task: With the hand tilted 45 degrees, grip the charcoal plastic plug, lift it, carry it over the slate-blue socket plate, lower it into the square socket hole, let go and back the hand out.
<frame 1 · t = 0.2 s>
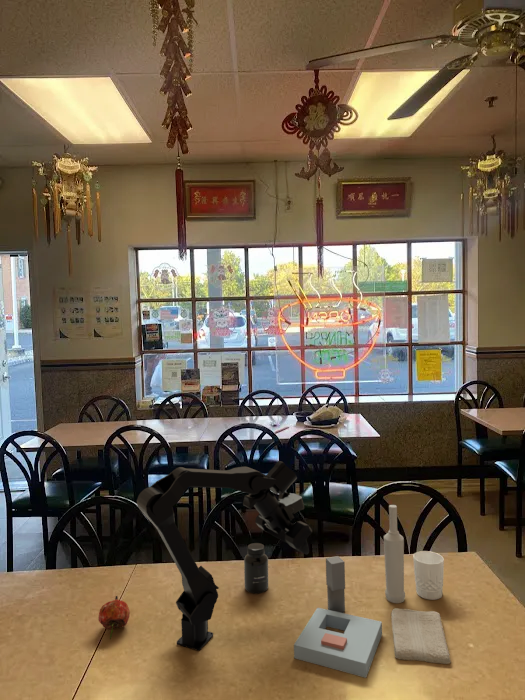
hand: (297, 546, 131), 14 cm above the table, tool tilted 35°, fingers open, 9 cm apart
plug: (336, 609, 126), on the table
bottle: (395, 599, 130), on the table
supplement bottle: (256, 588, 138), on the table
white cup: (429, 594, 132), on the table
pomegranate: (115, 630, 120), on the table
socket plate: (339, 645, 111), on the table
washcloth: (418, 640, 113), on the table
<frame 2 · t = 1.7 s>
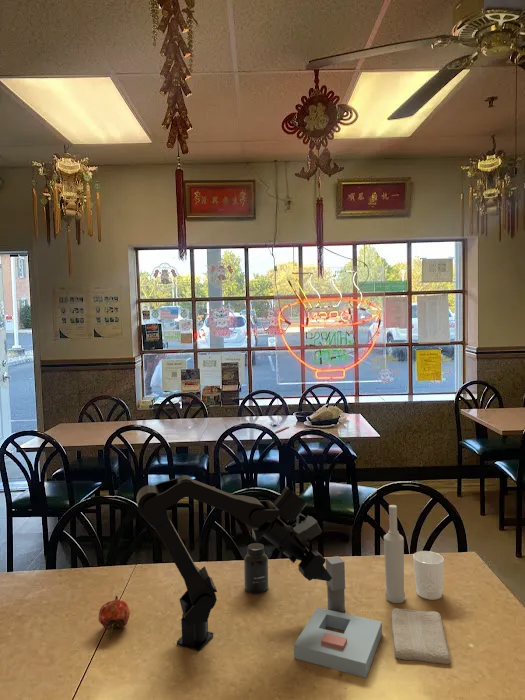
hand: (322, 571, 124), 11 cm above the table, tool tilted 45°, fingers open, 9 cm apart
nothing on the table moved.
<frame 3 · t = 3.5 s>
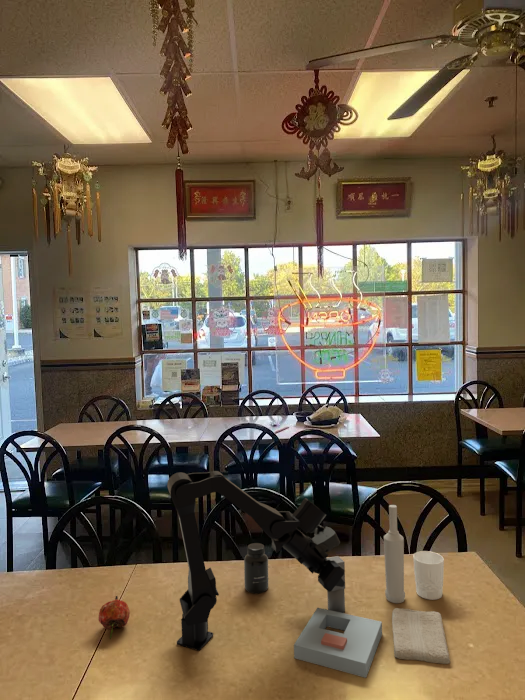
hand: (340, 581, 126), 7 cm above the table, tool tilted 45°, fingers closed on plug, 4 cm apart
plug: (336, 609, 126), on the table, touching gripper
everything else where it was.
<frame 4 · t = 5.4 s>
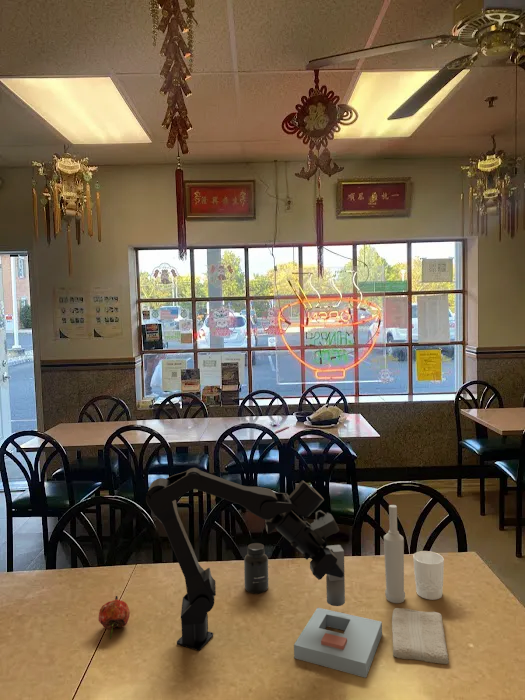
hand: (340, 572, 118), 13 cm above the table, tool tilted 45°, fingers closed on plug, 4 cm apart
plug: (335, 601, 118), point 6 cm above the table, touching gripper
everything else where it was.
when the fingers open (8 cm above the table, at t = 7.3 s): plug stays where it is, resting in socket plate.
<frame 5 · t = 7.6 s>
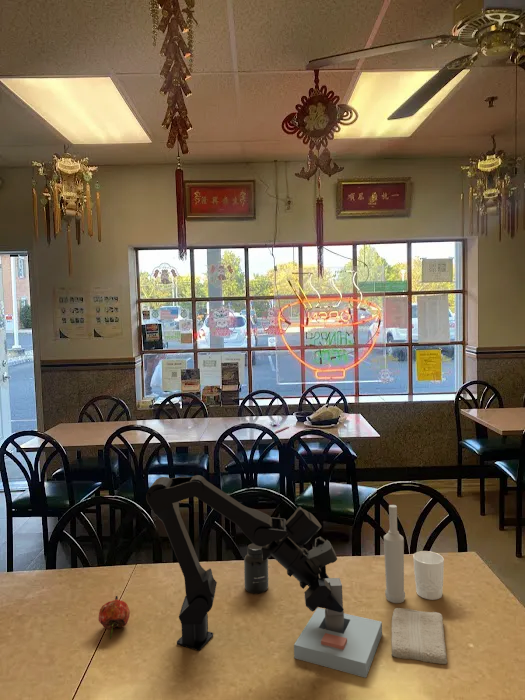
hand: (340, 602, 114), 8 cm above the table, tool tilted 45°, fingers open, 7 cm apart
plug: (335, 636, 115), resting in socket plate
everything else where it was.
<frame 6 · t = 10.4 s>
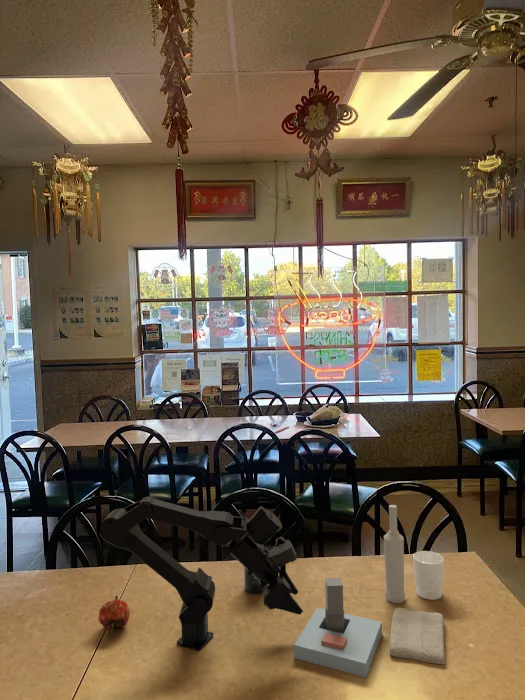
hand: (299, 602, 115), 8 cm above the table, tool tilted 45°, fingers open, 9 cm apart
nothing on the table moved.
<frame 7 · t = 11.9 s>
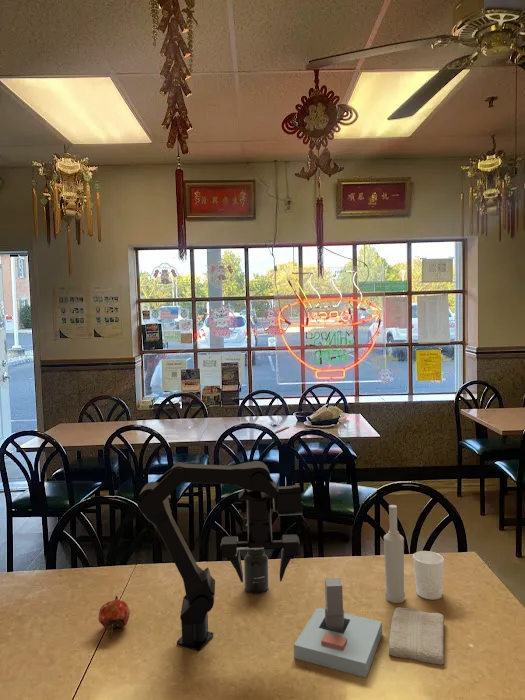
hand: (261, 581, 116), 13 cm above the table, tool pointing down, fingers open, 9 cm apart
nothing on the table moved.
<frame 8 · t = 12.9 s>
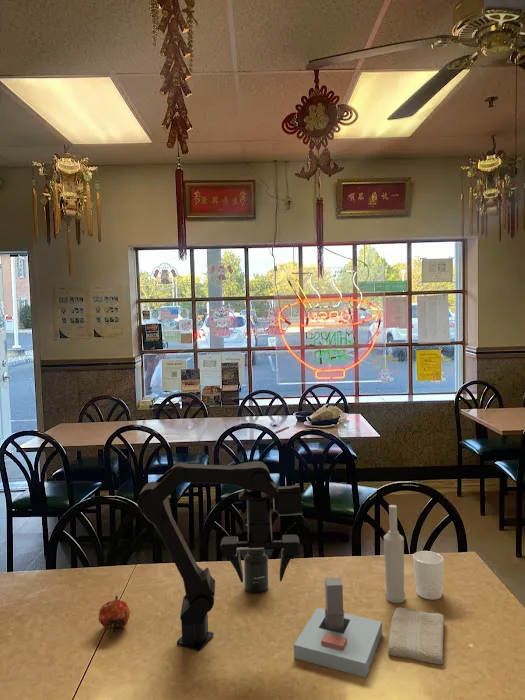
hand: (261, 581, 116), 13 cm above the table, tool pointing down, fingers open, 9 cm apart
nothing on the table moved.
at the end: plug 0.0 cm from the target spot on the socket plate, point 0.0 cm above the socket plate's base; plug tilted 1°; the gripper is holding nothing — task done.
